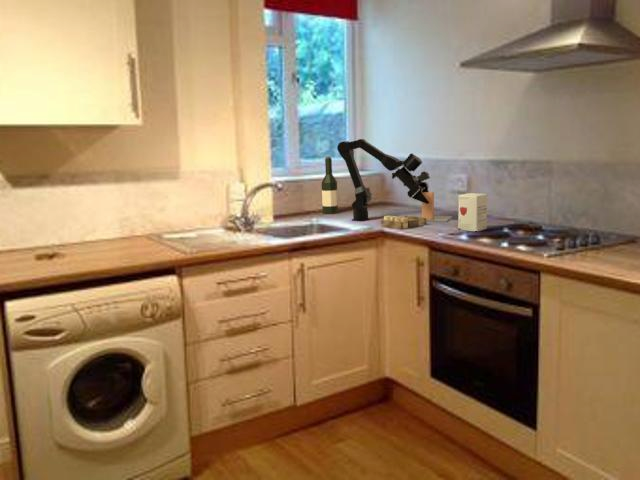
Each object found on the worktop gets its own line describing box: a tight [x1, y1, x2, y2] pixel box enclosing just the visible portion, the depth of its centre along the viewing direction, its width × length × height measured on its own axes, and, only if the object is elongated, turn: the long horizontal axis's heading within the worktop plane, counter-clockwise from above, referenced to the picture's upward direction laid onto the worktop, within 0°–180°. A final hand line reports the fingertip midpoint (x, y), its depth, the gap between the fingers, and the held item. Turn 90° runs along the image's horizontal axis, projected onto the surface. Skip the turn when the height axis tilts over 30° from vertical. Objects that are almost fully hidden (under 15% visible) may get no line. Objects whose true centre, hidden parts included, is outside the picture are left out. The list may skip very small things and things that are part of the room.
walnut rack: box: [381, 215, 427, 230], centre depth 268 cm, size 12×16×4 cm
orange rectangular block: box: [421, 191, 435, 219], centre depth 283 cm, size 5×3×12 cm, turn 66°
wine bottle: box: [321, 156, 339, 215], centre depth 324 cm, size 8×8×30 cm
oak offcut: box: [395, 216, 409, 230], centre depth 262 cm, size 5×3×4 cm, turn 39°
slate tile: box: [412, 215, 453, 223], centre depth 284 cm, size 20×14×2 cm
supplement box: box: [457, 192, 488, 232], centre depth 256 cm, size 9×9×15 cm
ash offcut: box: [383, 215, 398, 221], centre depth 267 cm, size 5×3×4 cm, turn 39°
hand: (430, 202), depth 282 cm, fingers open, 9 cm apart
